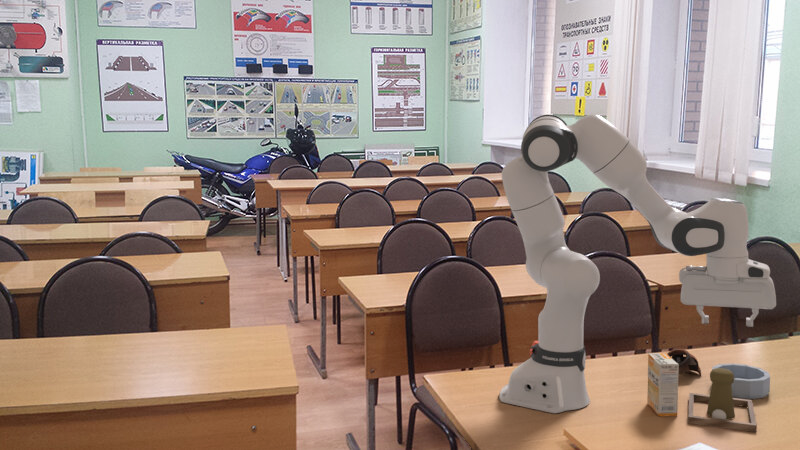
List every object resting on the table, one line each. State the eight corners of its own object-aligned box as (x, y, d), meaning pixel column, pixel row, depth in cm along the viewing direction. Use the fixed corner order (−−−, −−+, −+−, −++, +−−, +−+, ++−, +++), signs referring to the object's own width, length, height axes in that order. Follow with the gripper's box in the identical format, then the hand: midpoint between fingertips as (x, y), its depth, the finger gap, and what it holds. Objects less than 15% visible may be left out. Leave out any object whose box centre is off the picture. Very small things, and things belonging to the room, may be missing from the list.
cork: (722, 421, 156) (723, 375, 155) (701, 412, 161) (702, 367, 160) (740, 416, 158) (742, 371, 157) (719, 407, 164) (720, 364, 163)
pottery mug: (709, 382, 183) (698, 359, 180) (675, 395, 185) (664, 372, 182) (693, 357, 194) (683, 335, 191) (662, 370, 196) (651, 349, 194)
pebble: (711, 423, 155) (712, 411, 154) (711, 418, 158) (712, 406, 157) (726, 425, 154) (726, 412, 153) (725, 420, 156) (726, 408, 156)
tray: (688, 422, 155) (688, 416, 155) (689, 398, 170) (689, 392, 170) (756, 431, 150) (756, 425, 150) (751, 405, 164) (751, 400, 164)
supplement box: (646, 403, 168) (647, 352, 166) (665, 403, 167) (666, 352, 166) (657, 417, 159) (658, 363, 158) (678, 416, 159) (679, 363, 158)
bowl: (712, 395, 172) (713, 377, 171) (711, 378, 184) (712, 361, 183) (771, 402, 166) (772, 383, 166) (766, 384, 178) (767, 366, 178)
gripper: (677, 268, 159) (678, 325, 161) (777, 271, 149) (776, 331, 151) (680, 263, 164) (680, 318, 166) (775, 265, 155) (775, 324, 157)
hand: (727, 324), depth 158 cm, fingers open, 8 cm apart
